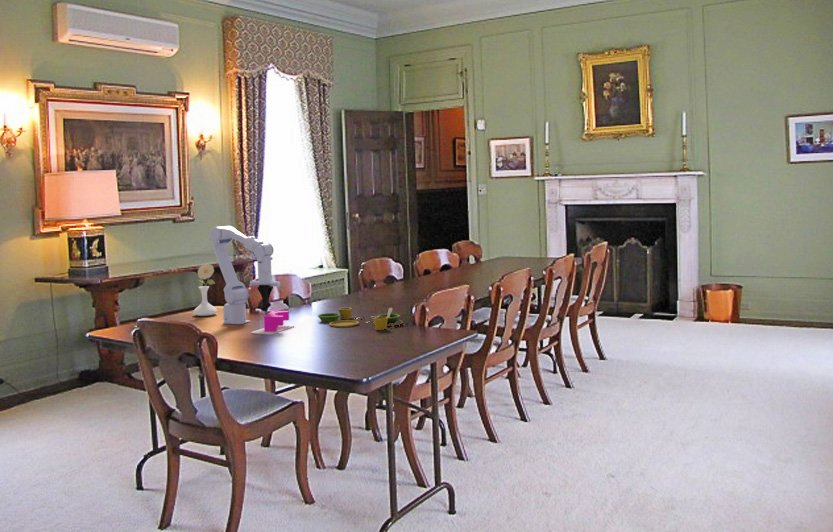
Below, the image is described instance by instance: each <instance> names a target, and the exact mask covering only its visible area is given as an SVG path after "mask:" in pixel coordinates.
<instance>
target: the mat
mask: <svg viewBox="0 0 833 532" xmlns="http://www.w3.org/2000/svg"><path fill="white" fill-rule="evenodd" d="M294 327H295V325H286V324H285V325H284V324H283V326H278V327H277V330H276V331H275V332H264V327H263V328H260V329H257V330H253V331H251V332H250V334H252V335H253V334H256V335H267V336H268V335H275V334H277V333H280V332H284V331H286V330H288V329H292V328H294Z"/></svg>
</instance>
